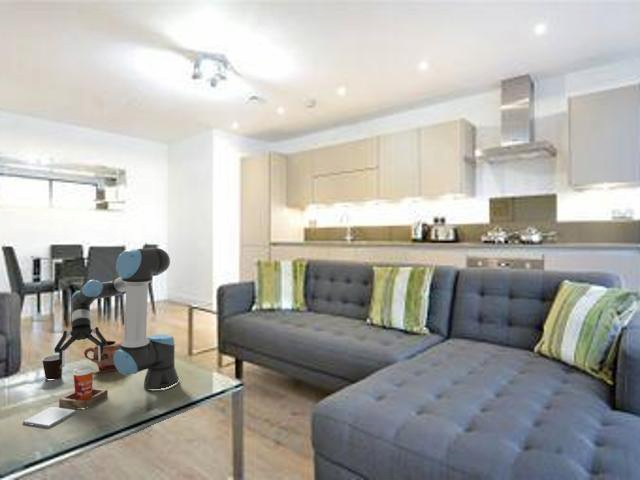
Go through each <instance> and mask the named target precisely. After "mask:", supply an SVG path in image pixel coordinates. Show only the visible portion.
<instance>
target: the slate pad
mask: <svg viewBox="0 0 640 480" xmlns="http://www.w3.org/2000/svg"><path fill="white" fill-rule="evenodd" d="M74 413H75V414H76V413H77V409H72V408H65V407H56V406H50V407H49V408H46V409H44V410H42V411H40V412H39V413H36V414H35V415H32V416H31V417H29V418H26V419H25V420H23V421H22V424H23V423H26V424H25V425H27V424H33V425H35V426H34V427H40V428H47V429H51V428H52V427H53V426H56V424H59V423H60V422H62V421H64V420H66V419H67V418H69V417H71V416H73V415H74ZM33 425H32V426H33Z"/></svg>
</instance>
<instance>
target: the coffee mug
mask: <svg viewBox="0 0 640 480" xmlns="http://www.w3.org/2000/svg"><path fill="white" fill-rule="evenodd" d="M41 359H42V360H41V361H42V365H43V373H44V378H45V379H46V378H47V379H57V380H59V378H60V379H62V374H63V368H64V367H62V360H60V359H59V354H52V355H48V356H45V357H43V358H41Z"/></svg>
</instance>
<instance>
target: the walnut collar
mask: <svg viewBox="0 0 640 480" xmlns="http://www.w3.org/2000/svg"><path fill="white" fill-rule="evenodd" d="M105 398H108V389H104V388H95V387H92V397H90V398H89V399H87V400H85V401H82V400H76V396H75V390H74V391H73V392H70V393H69V394H66V395H64V396H62V397H60V398H59V399H58V403H59V404H58V405H59V407H61V408H68V409H75V410H78V409H77V408H87V407H88V408H90V407H92V406H93V405H95V404H97V403H99V402H100V401H103V400H104V399H105ZM88 408H87V409H88Z"/></svg>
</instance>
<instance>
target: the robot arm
mask: <svg viewBox="0 0 640 480" xmlns="http://www.w3.org/2000/svg"><path fill="white" fill-rule="evenodd" d="M170 264H171V258H170V256H169V254H168V253H167V252H166V250H164V249H162V248H158V247H151V248H148V247H147V248H132V249H126V250H123V251H122V252H121V253H120V254H119V255H118V257H117V259H116V262H115V270H116V273H117V275H118V276H119V277H117V278H116V279H113V280H111V281H105V282H101V281H99V280H95V279H90V280H88V281H87V282H86V283H85V284H84V285H83V286H82V288H81V289H80V290H78V291H76V292H73V293H72V296H71V299H70V301H71V330H70V331H67V330H64V331H63V333H62V334H63V335H62V336H61V338H60V339H59V341H58V343H57V344H56V346H55V347H54V353H55V354H58V355H59V359H60V360H62V367H63V368H65V366H66V365H65V364H66V362H65V361H66V360H65V358H66V357H65V351H66V350H67V349H68V348H69V347H70V346H71V344H73V343H74V342H75V341H81V340H86V339H87V340H89V341H90V342H92V343H93V344H95V346H96V345H97V346H98V360H99V362H100V361H101V357H100V354H103V347H104V346H107V341H108V340H106V338H105V337H104V336H103V334H102V333H101V332H100V330H99V327H98V326H96V327H95V328H92V327H91V326H92V325H91V305H92V304H93V302H95V301H96V300H98V299H106V298H109V297H110V298H111V297H117V296H122V295H123V296H124V295H125V304H124V305H125V307H124V308H125V309H124V338H123V339H122V340H121V341H120V349H119V350H117V351H116V352H115V353H114V364H115V366H116V368H117V371H118V373H120V374H121V375H123V376H126V377H127V376H128V377H129V376H130V375H136V374H138V373H140V372H143V371H145V370H147V372H146V375H145V378H144V381H143V388H144V390H146V389H161V388H166V387H169V386H171V385H173V384H175V383H177V382H178V380H179V376H178V372H177V369H176V367H175V346H176V344H175V338H174V337H173V336H172V335H168V334H152V335H148V337H147V323H148V322H147V321H148V320H147V319H148V297H149V296H148V293H149V283H151V282H152V281H153V277H156V276H158V275H161V274H163V273H165V272H166V271H167V269H168V268H169V267H170ZM92 333H94V335H96V336H97V338H98V339H99V340H98V339H97V338H96V336H94V335H93V334H92ZM69 336H70V337H69ZM68 337H69V339H68V340H67V341H66V339H67V338H68ZM65 341H66V342H65ZM101 342H102V343H101Z"/></svg>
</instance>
